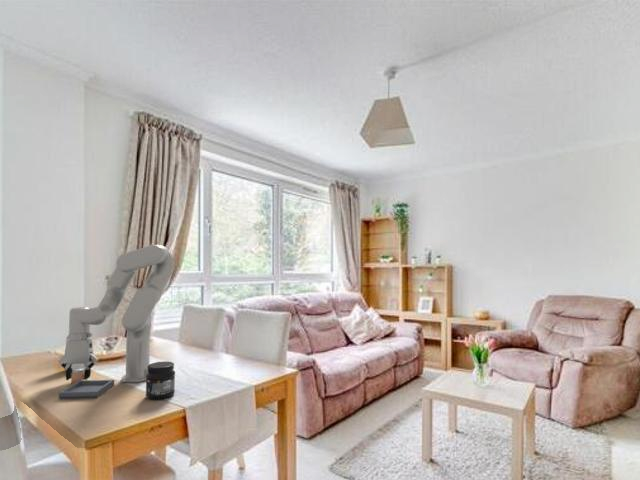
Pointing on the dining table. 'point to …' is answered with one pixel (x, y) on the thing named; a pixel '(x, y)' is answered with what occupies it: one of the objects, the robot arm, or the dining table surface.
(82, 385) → the tray
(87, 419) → the dining table surface
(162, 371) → the supplement container
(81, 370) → the salt shaker
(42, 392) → the dining table surface
